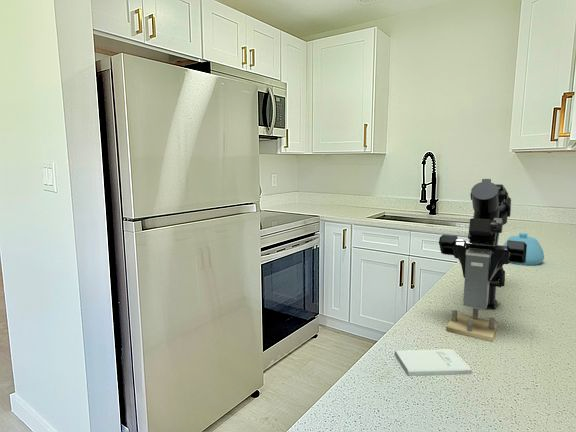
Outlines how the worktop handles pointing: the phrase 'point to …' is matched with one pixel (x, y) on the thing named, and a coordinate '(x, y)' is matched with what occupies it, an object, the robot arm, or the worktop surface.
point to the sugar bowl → (529, 249)
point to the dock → (472, 325)
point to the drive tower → (477, 278)
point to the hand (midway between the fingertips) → (476, 278)
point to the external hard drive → (432, 362)
